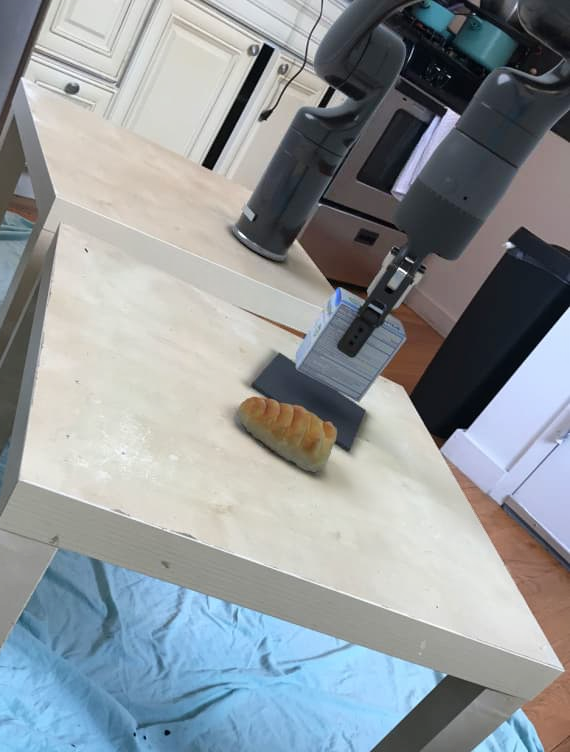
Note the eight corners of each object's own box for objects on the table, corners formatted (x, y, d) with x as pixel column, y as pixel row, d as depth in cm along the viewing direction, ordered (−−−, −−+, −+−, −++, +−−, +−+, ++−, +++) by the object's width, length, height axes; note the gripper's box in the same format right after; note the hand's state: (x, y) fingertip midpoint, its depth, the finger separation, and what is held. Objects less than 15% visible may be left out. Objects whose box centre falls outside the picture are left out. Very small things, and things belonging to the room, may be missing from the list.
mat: (277, 355, 86) (279, 352, 86) (364, 413, 86) (366, 410, 86) (250, 385, 76) (252, 382, 76) (348, 452, 76) (350, 449, 75)
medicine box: (354, 386, 82) (402, 320, 78) (358, 405, 78) (408, 337, 74) (293, 353, 80) (338, 284, 76) (294, 370, 77) (341, 299, 72)
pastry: (231, 433, 66) (252, 400, 64) (235, 400, 72) (255, 368, 70) (320, 480, 68) (344, 449, 66) (318, 444, 74) (340, 414, 72)
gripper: (488, 226, 62) (370, 386, 71) (487, 210, 74) (386, 347, 83) (413, 177, 62) (304, 342, 71) (424, 168, 75) (330, 310, 83)
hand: (349, 344), depth 77 cm, fingers closed on medicine box, 5 cm apart
